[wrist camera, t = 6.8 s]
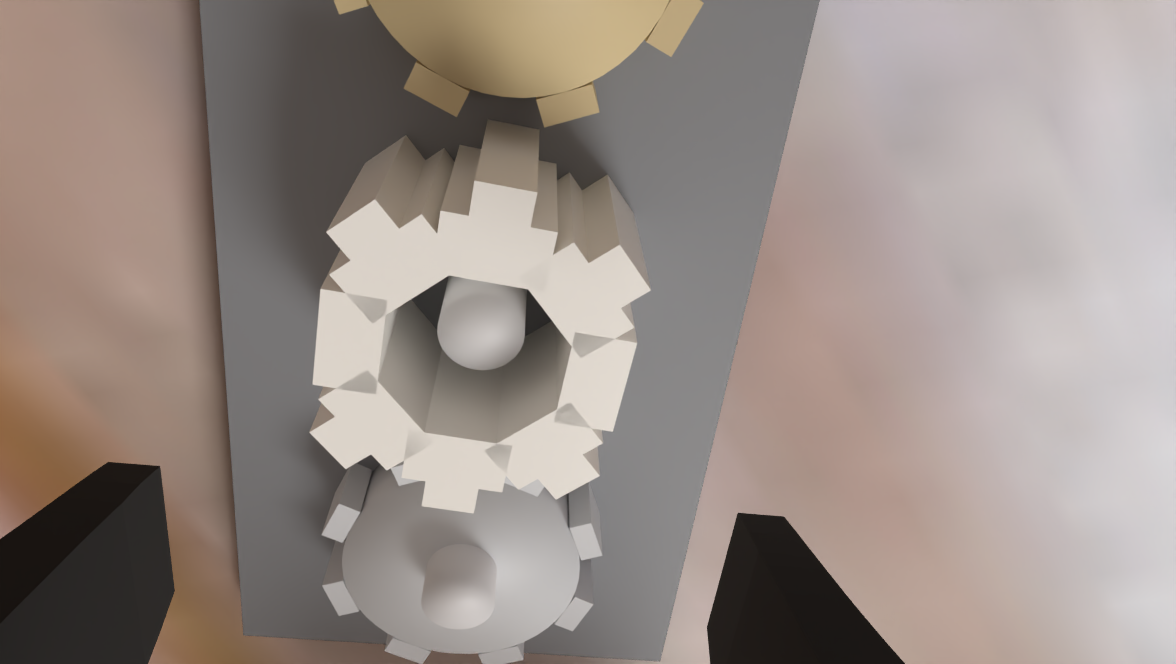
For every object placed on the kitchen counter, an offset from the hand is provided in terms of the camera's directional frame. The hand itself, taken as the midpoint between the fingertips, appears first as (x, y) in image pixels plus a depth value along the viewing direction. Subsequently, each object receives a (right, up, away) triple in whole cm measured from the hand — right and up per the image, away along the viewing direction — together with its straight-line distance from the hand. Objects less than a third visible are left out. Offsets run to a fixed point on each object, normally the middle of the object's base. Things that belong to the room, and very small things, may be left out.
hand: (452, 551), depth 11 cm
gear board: (0, +4, +8) cm, 9 cm away
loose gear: (0, +4, +7) cm, 8 cm away
